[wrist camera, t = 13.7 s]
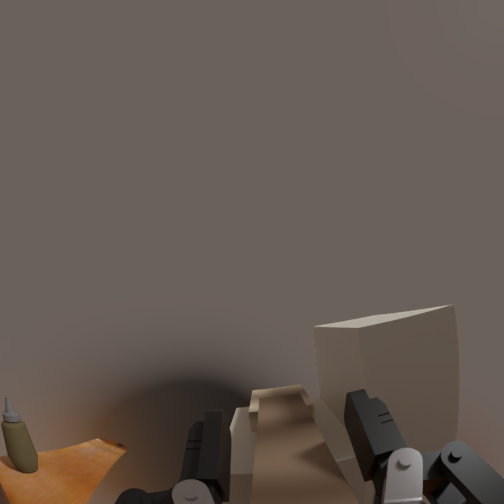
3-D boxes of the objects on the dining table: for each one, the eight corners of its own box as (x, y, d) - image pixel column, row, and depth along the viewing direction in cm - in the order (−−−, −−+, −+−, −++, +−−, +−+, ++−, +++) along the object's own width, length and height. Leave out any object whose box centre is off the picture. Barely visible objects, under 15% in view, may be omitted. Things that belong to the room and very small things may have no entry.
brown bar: (384, 551, 4) (394, 498, 5) (228, 575, 4) (212, 526, 5) (302, 399, 27) (300, 374, 28) (254, 405, 27) (251, 380, 28)
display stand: (412, 586, 6) (454, 304, 14) (256, 620, 6) (192, 348, 14) (375, 526, 21) (373, 315, 29) (259, 548, 21) (228, 336, 29)
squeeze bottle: (8, 472, 26) (-14, 398, 31) (18, 460, 33) (0, 392, 38) (37, 477, 29) (15, 403, 34) (45, 464, 36) (27, 396, 41)
